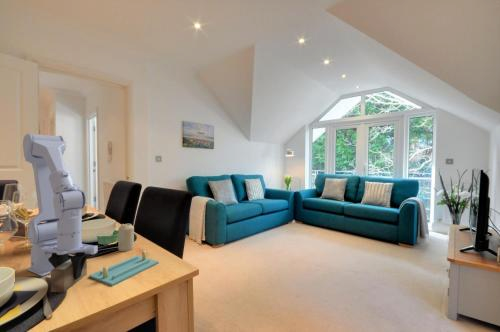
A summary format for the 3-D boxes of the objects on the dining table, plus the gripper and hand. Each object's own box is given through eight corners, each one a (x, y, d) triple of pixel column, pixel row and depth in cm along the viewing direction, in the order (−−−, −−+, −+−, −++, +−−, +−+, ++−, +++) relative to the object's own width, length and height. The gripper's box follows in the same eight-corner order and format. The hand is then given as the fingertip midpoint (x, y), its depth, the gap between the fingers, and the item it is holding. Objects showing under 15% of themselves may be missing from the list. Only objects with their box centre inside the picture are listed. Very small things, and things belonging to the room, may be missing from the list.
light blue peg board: (89, 277, 73) (89, 265, 73) (136, 257, 89) (136, 247, 88) (112, 286, 68) (112, 273, 68) (158, 263, 84) (158, 253, 84)
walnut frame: (50, 292, 65) (50, 270, 65) (75, 274, 75) (74, 255, 74) (64, 292, 65) (64, 270, 65) (86, 274, 75) (86, 255, 75)
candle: (127, 252, 93) (127, 226, 93) (115, 250, 94) (115, 225, 94) (136, 247, 98) (136, 222, 98) (125, 245, 100) (125, 221, 99)
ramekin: (126, 240, 106) (126, 230, 106) (109, 248, 97) (109, 237, 97) (108, 238, 108) (108, 229, 108) (91, 245, 99) (91, 235, 99)
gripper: (31, 236, 65) (32, 285, 65) (87, 236, 66) (87, 284, 66) (51, 228, 72) (51, 273, 72) (101, 228, 73) (101, 272, 73)
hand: (70, 278), depth 70 cm, fingers closed on walnut frame, 3 cm apart
